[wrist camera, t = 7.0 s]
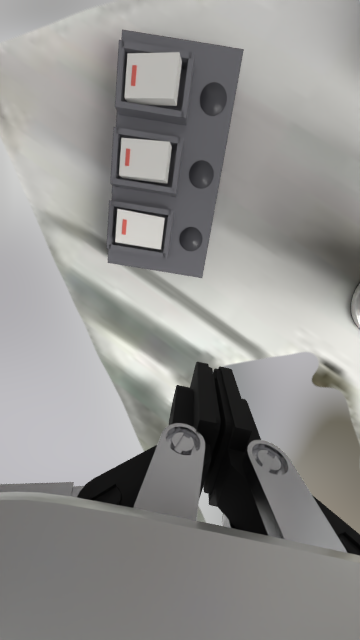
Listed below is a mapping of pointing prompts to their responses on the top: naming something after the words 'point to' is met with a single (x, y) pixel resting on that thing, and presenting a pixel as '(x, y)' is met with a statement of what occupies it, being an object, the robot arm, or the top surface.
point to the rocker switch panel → (175, 152)
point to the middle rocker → (145, 160)
